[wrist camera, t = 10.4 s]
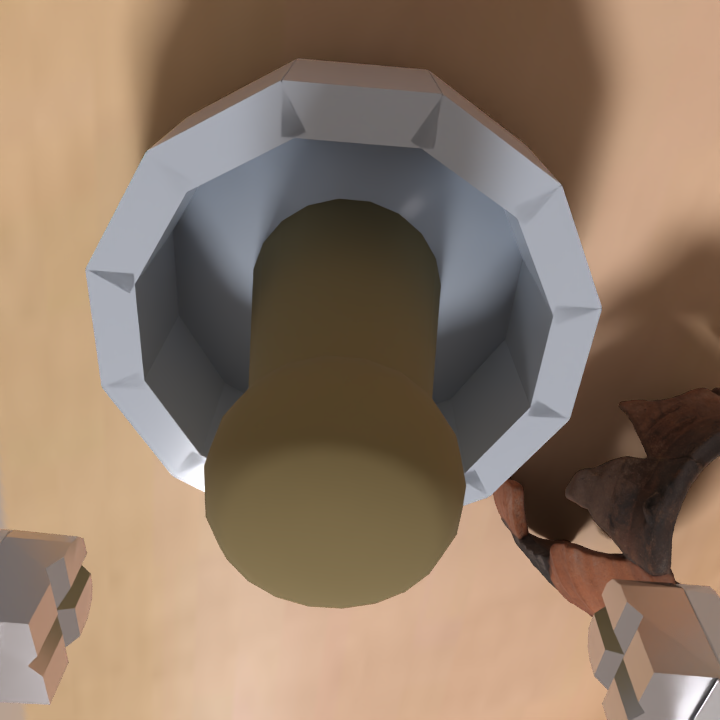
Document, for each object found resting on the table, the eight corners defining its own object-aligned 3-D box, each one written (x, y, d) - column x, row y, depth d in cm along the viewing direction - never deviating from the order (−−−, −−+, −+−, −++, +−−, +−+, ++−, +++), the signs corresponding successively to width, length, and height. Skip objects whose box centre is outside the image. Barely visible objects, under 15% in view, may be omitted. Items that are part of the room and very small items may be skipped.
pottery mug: (447, 409, 26) (595, 471, 18) (638, 323, 28) (836, 345, 21) (522, 666, 28) (677, 813, 21) (688, 566, 31) (879, 663, 24)
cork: (358, 156, 19) (351, 339, 10) (478, 302, 22) (565, 564, 12) (212, 279, 21) (90, 531, 12) (336, 401, 24) (317, 692, 14)
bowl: (594, 80, 19) (658, 112, 15) (507, 449, 26) (533, 541, 22) (125, 39, 19) (56, 60, 14) (159, 425, 25) (119, 516, 21)
